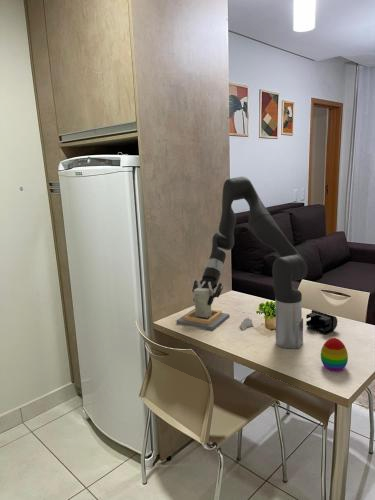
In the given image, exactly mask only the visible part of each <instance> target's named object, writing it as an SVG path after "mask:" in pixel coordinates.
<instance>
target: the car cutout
mask: <svg viewBox="0 0 375 500" xmlns="http://www.w3.org/2000/svg"><path fill="white" fill-rule="evenodd" d="M248 327H252V328H253V327H254V324H253V320H252V319H251V318H249V317H245V318H244V319H243V321H241V323H240V325H239V328H240V329H242V330H246V328H248Z"/></svg>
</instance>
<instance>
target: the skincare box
mask: <svg viewBox="0 0 375 500" xmlns="http://www.w3.org/2000/svg"><path fill="white" fill-rule="evenodd" d="M209 296H211V295H210V289H208V288H199V287H198V288H197V289H195V290H194V293H193V299H194V301H193V303H194V309H195V315H196V316H198V317H204V318H208V317H209V316H211V315H212V310H213V309H212V304H211V305H208V304H207V303H208V299H209Z"/></svg>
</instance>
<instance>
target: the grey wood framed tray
mask: <svg viewBox="0 0 375 500" xmlns="http://www.w3.org/2000/svg"><path fill="white" fill-rule="evenodd" d="M211 310H212V315H211V316H209V317H208V318H204V317H198V316H196V315H195V308H193V309H191V310H190V311H188V312H187V313H186V314H184V315H183V316H181V317H180V318H178V319H177V320H176V321H175V322H176V325H180V326H186V327H192V328H197V329H203V330H207V331H208V330H210V331H215V330H216V329H217V328H218V327H220V326H221V325H222V324H223V323H225V322H226V321H227V320H228V319H229V318H230V313H223V312H222V311H221V310H216V309H211Z"/></svg>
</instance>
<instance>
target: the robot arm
mask: <svg viewBox="0 0 375 500" xmlns="http://www.w3.org/2000/svg"><path fill="white" fill-rule="evenodd" d="M239 200H245V201H246V203H247V204H248V206H249V210H248V211H249V212H248V227H250V229H251V231H252V233H253V234H254V236H255V237H256V238H257V240H259V241H260V242H261V243H263V244H264V245H265V246H267V247H268V248H271V250H273V251H275V252H276V253H277V254H278V255H279V257H277V258H276V259H275V260H274V261H273V264H272V268H271V269H272V270H271V271H272V283H273V284H272V285H273V293H274V295H275V344H276V345H277V346H278V347H280V348H283V349H300V347H301V346H302V344H303V343H304V318H303V317H302V314H303V313H302V307H303V306H302V305H303V304H302V303H303V301H302V300H303V298H302V292H301V290H298V289H295V288H293V286H292V285H293V284H292V282H294V281H300V280H303V279H304V278H306V277H307V275H308V264H307V263H306V261H305V259H304V258H303V256H302V255H301V253H299V252H298V250H297V249H296V248H295V247H294V246H293V245H292V243H291V242H290V241H289V240H288V238H287V236H286V235H285V234H284V233H283V231H282V230H281V229H280V227H279V225H278V224H277V222H276V221H275V219H274V218H273V216H272V215H271V213H270V212H269V210H268V209H267V208H266V206H265V205H264V203H263V201H262V200H261V198H260V196H259V194H258V192H257V191H256V189H255V187H254V185H253V183H252V181H251V180H250V179H249V178H248V177H247V176H237V177H232V178H228V179H225V181H224V183H223V186H222V201H221V216H220V221H219V225H218V231H217V232H215V233H214V234H213V236H212V240H211V241H212V244H211V247H212V248H211V253H210V256H209V259H208V261H207V263H206V265H205V268H204V272H203V274H202V276H201V277H202V278H201V280H200V281H198V280H196V279H195V280H194V282H193V285H192V286H193V287H192V293H193V294H194V290H195V289H197V288H208V289H210V296H209V299H208V303H207V304H208V305H211V306H212V304H213V303H214V300H215V298H220V295H221V293H222V291H223V289H224V285H223V284H222V283H221V282H219V281H220V278H221V274H222V271H223V268H224V264H225V260H226V258H227V254H226V252H225V251H230V250H233V248H234V246H235V235H234V233H235V228H236V223H237V216H236V212H234V210H233V208H232V205H233V203H234V202H233V201H239ZM224 250H225V251H224ZM192 300H193V302H194V298H193V299H192Z"/></svg>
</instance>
